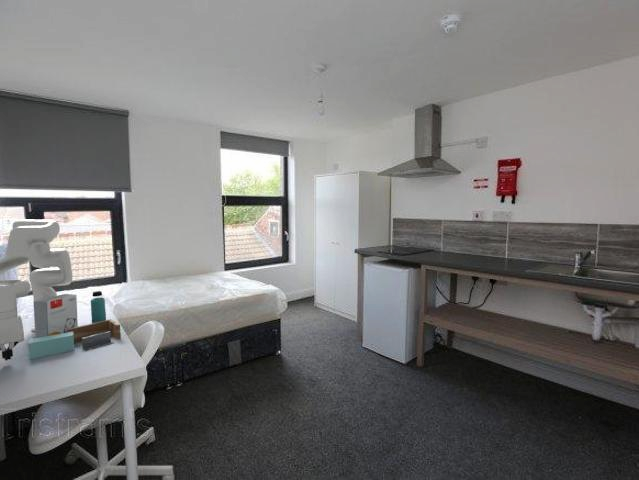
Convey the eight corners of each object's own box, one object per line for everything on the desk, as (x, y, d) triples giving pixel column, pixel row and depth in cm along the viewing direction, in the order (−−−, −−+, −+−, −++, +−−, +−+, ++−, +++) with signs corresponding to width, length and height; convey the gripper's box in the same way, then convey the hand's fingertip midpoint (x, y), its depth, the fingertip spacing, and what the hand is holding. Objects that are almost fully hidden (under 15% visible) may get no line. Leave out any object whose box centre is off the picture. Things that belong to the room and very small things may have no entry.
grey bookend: (82, 347, 147) (82, 337, 146) (109, 340, 155) (109, 331, 155) (86, 350, 143) (85, 341, 143) (114, 343, 152) (113, 333, 151)
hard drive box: (48, 344, 150) (45, 302, 148) (34, 342, 152) (31, 301, 150) (79, 332, 165) (76, 294, 164) (66, 331, 167) (64, 293, 165)
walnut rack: (67, 343, 151) (67, 329, 150) (111, 332, 165) (110, 319, 164) (75, 350, 143) (75, 335, 143) (120, 338, 157) (120, 324, 156)
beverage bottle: (109, 327, 172) (107, 290, 171) (97, 331, 166) (95, 293, 164) (100, 325, 174) (99, 289, 173) (88, 330, 168) (86, 292, 166)
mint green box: (30, 355, 139) (29, 339, 139) (73, 346, 149) (73, 331, 148) (29, 359, 135) (28, 343, 134) (74, 350, 144) (73, 335, 144)
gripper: (-22, 321, 121) (-18, 368, 122) (31, 312, 132) (34, 355, 134) (-24, 317, 125) (-20, 363, 127) (27, 308, 137) (30, 350, 138)
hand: (7, 359), depth 130 cm, fingers closed
